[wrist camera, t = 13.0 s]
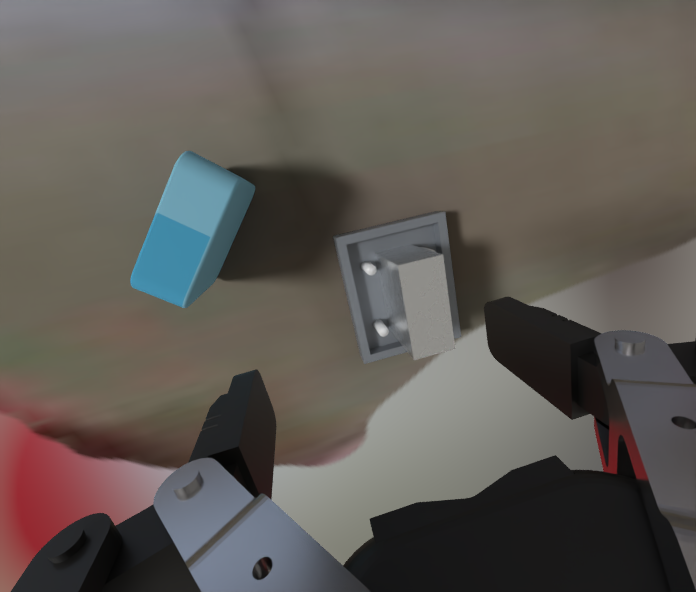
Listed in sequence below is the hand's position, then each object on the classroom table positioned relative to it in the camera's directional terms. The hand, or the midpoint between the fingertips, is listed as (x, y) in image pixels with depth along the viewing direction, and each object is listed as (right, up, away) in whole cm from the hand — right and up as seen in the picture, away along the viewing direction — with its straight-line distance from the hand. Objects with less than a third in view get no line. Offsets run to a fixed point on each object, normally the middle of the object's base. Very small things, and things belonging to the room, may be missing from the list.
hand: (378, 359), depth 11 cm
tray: (+5, +3, +31) cm, 31 cm away
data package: (-16, +10, +26) cm, 32 cm away
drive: (+5, +3, +29) cm, 30 cm away
